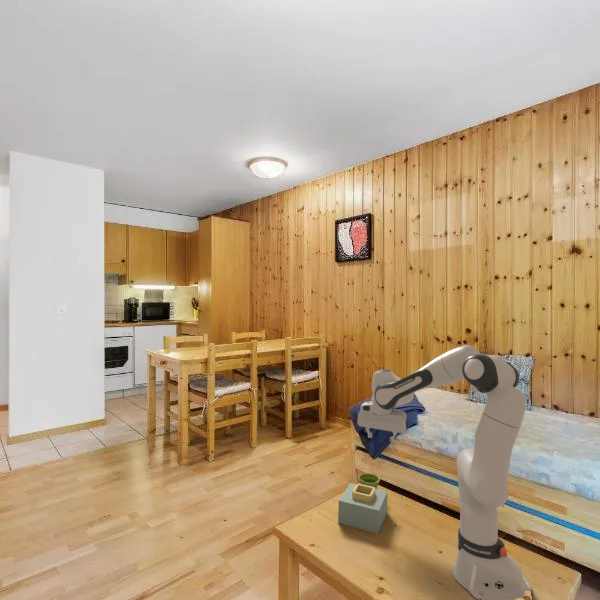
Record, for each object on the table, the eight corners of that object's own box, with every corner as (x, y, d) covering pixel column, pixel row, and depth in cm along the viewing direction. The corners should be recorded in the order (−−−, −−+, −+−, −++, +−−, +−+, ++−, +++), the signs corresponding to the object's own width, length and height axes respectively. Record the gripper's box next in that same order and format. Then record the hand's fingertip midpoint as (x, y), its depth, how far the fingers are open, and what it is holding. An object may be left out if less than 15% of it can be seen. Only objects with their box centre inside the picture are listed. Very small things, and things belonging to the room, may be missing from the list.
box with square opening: (386, 512, 162) (387, 485, 162) (378, 534, 147) (379, 504, 147) (349, 503, 168) (350, 477, 168) (338, 522, 154) (338, 494, 154)
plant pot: (374, 505, 168) (375, 485, 167) (354, 498, 173) (355, 479, 173) (382, 496, 175) (383, 476, 175) (363, 489, 181) (363, 471, 180)
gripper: (407, 408, 164) (406, 441, 164) (360, 402, 172) (359, 433, 173) (405, 412, 158) (404, 446, 159) (356, 405, 167) (355, 437, 167)
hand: (380, 439), depth 166 cm, fingers open, 8 cm apart
